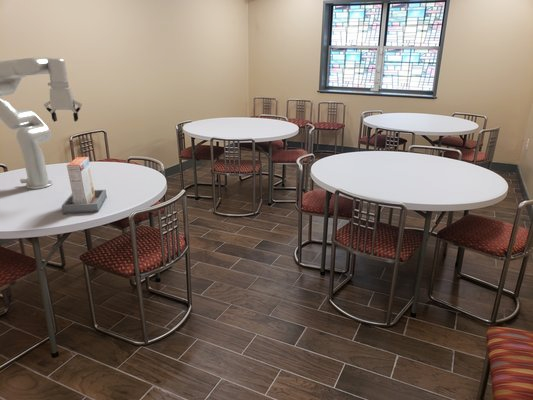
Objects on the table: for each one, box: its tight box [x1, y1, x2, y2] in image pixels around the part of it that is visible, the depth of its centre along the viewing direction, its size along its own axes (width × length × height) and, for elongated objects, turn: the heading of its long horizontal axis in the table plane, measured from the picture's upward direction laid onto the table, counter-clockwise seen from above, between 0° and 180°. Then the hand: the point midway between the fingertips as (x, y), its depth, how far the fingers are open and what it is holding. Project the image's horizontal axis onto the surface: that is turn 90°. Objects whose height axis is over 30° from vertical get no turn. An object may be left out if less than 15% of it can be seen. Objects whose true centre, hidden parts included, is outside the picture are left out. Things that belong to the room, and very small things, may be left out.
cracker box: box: [66, 156, 95, 204], centre depth 189 cm, size 14×6×21 cm, turn 7°
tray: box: [61, 189, 108, 215], centre depth 193 cm, size 15×20×4 cm
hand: (65, 121), depth 202 cm, fingers open, 9 cm apart
